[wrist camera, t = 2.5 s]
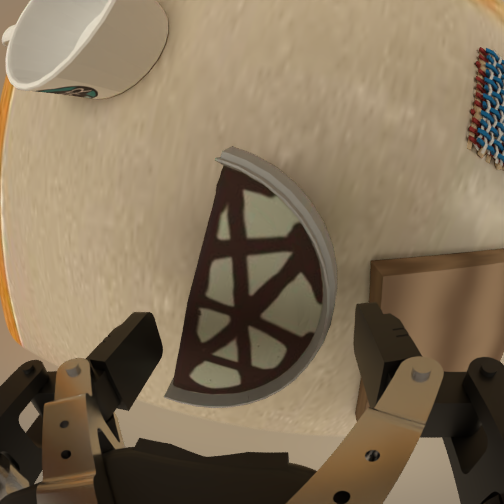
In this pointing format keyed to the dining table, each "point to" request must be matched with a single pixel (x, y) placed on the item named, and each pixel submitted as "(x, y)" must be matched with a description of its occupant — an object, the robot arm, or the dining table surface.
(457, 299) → the walnut base
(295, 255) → the food container
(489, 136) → the woven mat
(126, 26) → the mug
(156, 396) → the dining table surface
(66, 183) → the dining table surface
